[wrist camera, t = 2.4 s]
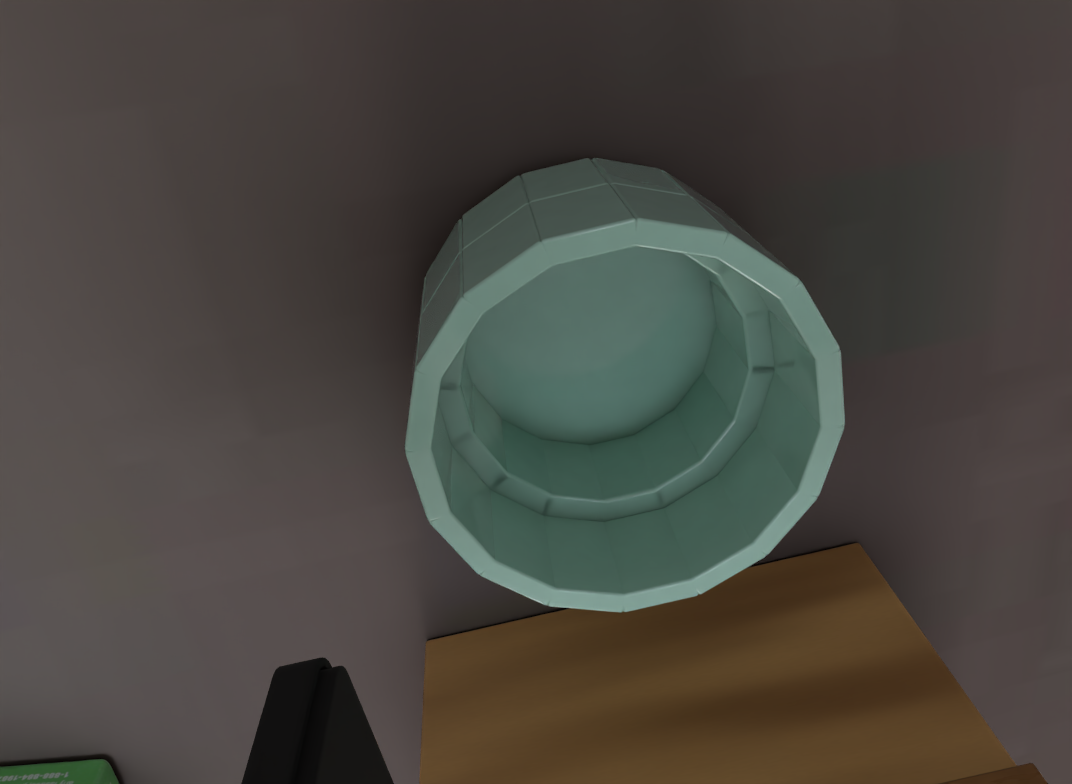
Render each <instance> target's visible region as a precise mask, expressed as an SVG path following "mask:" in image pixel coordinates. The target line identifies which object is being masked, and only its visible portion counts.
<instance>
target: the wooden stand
mask: <svg viewBox="0 0 1072 784" xmlns="http://www.w3.org/2000/svg"><path fill="white" fill-rule="evenodd" d="M419 784H1048V783H1047V782H1046V780H1045V779H1044V778H1043V776H1042V775H1041V773H1040V772H1039V771H1038V769H1037V768H1036V767H1035V765H1034V764H1033V763H1029V764H1024V765H1020V766H1017V765H1016V764H1015V763H1014V761H1013V760H1012V758H1011V757H1010V755H1009V754H1008V753H1007V751H1006V750H1005V748H1004V747H1003V746H1002V744H1001V743H1000V741H999V740H998V739H997V737H996V736H995V734H994V733H993V731H992V730H991V729H990V727H989V726H988V724H987V723H986V722H985V720H984V719H983V717H982V716H981V715H980V713H979V712H978V710H977V709H976V707H975V706H974V705H973V703H972V702H971V700H970V699H969V698H968V696H967V695H966V693H965V692H964V691H963V689H962V688H961V686H960V685H959V683H958V682H957V681H956V679H955V678H954V676H953V675H952V674H951V672H950V671H949V669H948V668H947V667H946V665H945V664H944V662H943V661H942V659H941V658H940V657H939V655H938V654H937V652H936V651H935V650H934V648H933V647H932V645H931V644H930V643H929V641H928V640H927V638H926V637H925V635H924V634H923V633H922V631H921V630H920V628H919V627H918V626H917V624H916V623H915V621H914V620H913V619H912V617H911V616H910V614H909V613H908V611H907V610H906V609H905V607H904V606H903V604H902V603H901V602H900V600H899V599H898V597H897V596H896V595H895V593H894V592H893V590H892V589H891V587H890V586H889V585H888V583H887V582H886V580H885V579H884V578H883V576H882V575H881V573H880V572H879V570H878V569H877V568H876V566H875V565H874V563H873V562H872V561H871V559H870V558H869V556H868V555H867V554H866V552H865V551H864V549H863V548H862V546H861V545H860V544H859V543H854V544H850V545H845V546H841V547H837V548H832V549H828V550H823V551H819V552H815V553H810V554H806V555H802V556H797V557H793V558H788V559H784V560H780V561H775V562H771V563H766V564H762V565H758V566H753V567H749V568H746V569H744V570H742V571H740V572H739V573H737V574H735V575H734V576H732V577H730V578H728V579H727V580H725V581H723V582H722V583H720V584H718V585H716V586H715V587H713V588H711V589H710V590H708V591H706V592H704V593H703V594H698V596H695V597H691V598H686V599H682V600H677V601H673V602H669V603H664V604H660V605H655V606H651V607H647V608H642V609H638V610H634V611H629V612H621V613H619V612H607V611H596V610H584V609H573V608H569V609H565V610H560V611H556V612H552V613H547V614H543V615H538V616H534V617H530V618H525V619H521V620H517V621H512V622H508V623H503V624H499V625H495V626H490V627H486V628H481V629H477V630H473V631H468V632H464V633H459V634H455V635H451V636H446V637H442V638H438V639H433V640H429V641H427V642H426V649H425V671H424V693H423V715H422V737H421V759H420V781H419Z"/></svg>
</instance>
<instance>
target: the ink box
mask: <svg viewBox="0 0 1072 784" xmlns="http://www.w3.org/2000/svg"><path fill="white" fill-rule="evenodd" d="M0 784H119V782H118V780H117V778H116V776H115V774H114V772H113V769H112V767H111V766H110V764H109V763H108V762H107V761H106V760H104V759H93V760H84V761H73V762H59V763H44V764H32V765H19V766H6V767H0Z"/></svg>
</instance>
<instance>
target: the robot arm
mask: <svg viewBox="0 0 1072 784" xmlns="http://www.w3.org/2000/svg"><path fill="white" fill-rule="evenodd" d="M242 784H394V783H393V781H392V778H391V776H390V773H389V771H388V769H387V766H386V764H385V761H384V759H383V757H382V754H381V752H380V749H379V747H378V744H377V742H376V740H375V737H374V735H373V732H372V730H371V728H370V725H369V723H368V720H367V718H366V716H365V713H364V711H363V708H362V706H361V703H360V701H359V699H358V696H357V694H356V691H355V689H354V687H353V684H352V682H351V679H350V677H349V675H348V673H347V671H346V669H345V668H344V667H343V666H338V667H333V668H332V666H331V664H330V663H329V661H328V660H327V659H326V658H317V659H313V660H308V661H304V662H299V663H294V664H290V665H285V666H281V667H279V668H277V669H276V670H275V673H274V675H273V678H272V681H271V684H270V688H269V691H268V695H267V698H266V702H265V705H264V708H263V712H262V715H261V719H260V722H259V726H258V729H257V732H256V736H255V739H254V743H253V746H252V750H251V753H250V756H249V760H248V763H247V767H246V770H245V774H244V777H243V780H242Z"/></svg>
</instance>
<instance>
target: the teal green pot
mask: <svg viewBox="0 0 1072 784" xmlns="http://www.w3.org/2000/svg"><path fill="white" fill-rule="evenodd" d="M844 425H845V412H844V396H843V380H842V363H841V351H840V349H839V345H838V343H837V341H836V340H835V338H834V336H833V334H832V333H831V331H830V329H829V327H828V326H827V324H826V322H825V320H824V319H823V317H822V315H821V314H820V312H819V310H818V308H817V307H816V305H815V303H814V301H813V300H812V298H811V296H810V294H809V293H808V291H807V289H806V288H805V286H804V284H803V282H802V281H801V280H799V278H798V277H797V276H796V275H795V274H794V273H792V272H791V271H790V270H789V269H788V268H787V267H786V266H784V265H783V264H782V263H781V262H780V261H779V260H778V259H777V258H775V257H774V256H773V255H772V254H771V253H770V252H769V251H768V250H766V249H765V248H764V247H763V246H762V245H761V244H760V243H759V242H757V241H756V240H755V239H754V238H753V237H752V236H751V235H750V234H748V233H747V232H746V231H745V230H744V229H743V228H742V227H741V226H739V225H738V224H737V223H736V222H735V221H734V220H733V219H732V218H730V217H729V216H728V215H727V214H726V213H725V212H724V211H723V210H721V209H720V208H719V207H718V206H717V205H715V204H714V203H713V202H711V201H710V200H708V199H707V198H705V197H704V196H702V195H701V194H699V193H698V192H696V191H695V190H693V189H692V188H690V187H689V186H687V185H686V184H684V183H683V182H681V181H680V180H678V179H677V178H675V177H674V176H672V175H671V174H669V173H668V172H666V171H665V170H660V169H658V168H653V167H647V166H641V165H635V164H629V163H624V162H618V161H612V160H606V159H600V158H593V159H592V160H591V159H590V158H585V159H581V160H577V161H573V162H569V163H564V164H560V165H556V166H552V167H548V168H543V169H539V170H535V171H531V172H527V173H523V174H522V175H521V176H516V177H515V178H513V179H512V180H511V181H509V182H508V183H506V184H505V185H504V186H502V187H501V188H499V189H498V190H497V191H495V192H494V193H493V194H491V195H490V196H488V197H487V198H486V199H484V200H483V201H482V202H480V203H479V204H477V205H476V206H475V207H473V208H472V209H471V210H469V211H468V212H466V213H465V214H464V215H463V216H462V219H460V220H459V221H458V222H457V223H456V225H455V227H454V228H453V230H452V232H451V233H450V235H449V237H448V238H447V240H446V242H445V243H444V245H443V247H442V248H441V250H440V252H439V253H438V255H437V257H436V258H435V260H434V262H433V263H432V265H431V266H430V268H429V270H428V271H427V273H426V277H425V278H424V283H423V290H422V298H421V306H420V314H419V321H418V329H417V337H416V346H415V355H414V364H413V373H412V383H411V391H410V400H409V410H408V419H407V428H406V437H405V446H404V447H405V454H406V457H407V460H408V463H409V466H410V469H411V472H412V475H413V478H414V481H415V484H416V487H417V490H418V493H419V496H420V499H421V502H422V505H423V508H424V511H425V514H426V517H427V519H428V521H429V522H430V524H431V525H432V526H433V527H434V528H435V529H436V530H437V531H438V533H439V534H440V535H441V536H442V537H443V538H444V539H445V540H446V541H447V542H448V543H449V544H450V545H451V546H452V547H453V548H454V549H455V551H456V552H457V553H458V554H459V555H460V556H461V557H462V558H463V559H464V560H465V561H466V562H467V563H468V564H469V565H470V566H471V568H472V569H473V570H474V571H475V572H476V573H477V574H480V576H481V577H484V578H486V579H488V580H490V581H492V582H495V583H497V584H499V585H501V586H503V587H506V588H508V589H510V590H512V591H514V592H517V593H519V594H521V595H523V596H525V597H528V598H530V599H532V600H534V601H536V602H538V603H541V604H543V605H548V606H550V607H561V608H573V609H584V610H596V611H607V612H619V613H621V612H629V611H634V610H638V609H642V608H647V607H651V606H655V605H660V604H664V603H669V602H673V601H677V600H682V599H686V598H691V597H695V596H698V594H703V593H704V592H706V591H708V590H710V589H711V588H713V587H715V586H716V585H718V584H720V583H722V582H723V581H725V580H727V579H728V578H730V577H732V576H734V575H735V574H737V573H739V572H740V571H742V570H744V569H746V568H747V567H749V566H751V565H752V564H754V563H756V562H758V561H759V560H761V559H763V558H764V557H765V556H766V555H768V554H769V553H770V552H771V551H772V550H773V549H774V548H775V546H776V545H777V544H778V543H779V542H780V541H781V540H782V538H783V537H784V536H785V535H786V534H787V533H788V532H789V530H790V529H791V528H792V527H793V526H794V525H795V524H796V523H797V521H798V520H799V519H800V518H801V517H802V516H803V515H804V513H805V512H806V511H807V510H808V509H809V508H810V507H811V505H812V504H813V503H814V502H815V501H816V500H817V496H819V495H820V492H821V489H822V487H823V484H824V481H825V479H826V476H827V473H828V471H829V468H830V465H831V463H832V460H833V457H834V455H835V452H836V449H837V447H838V444H839V441H840V439H841V436H842V433H843V431H844Z"/></svg>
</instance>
